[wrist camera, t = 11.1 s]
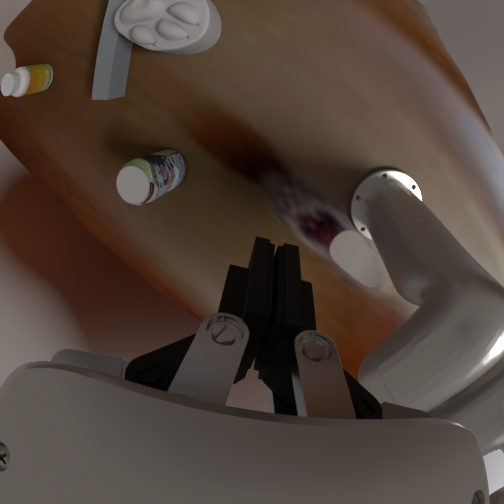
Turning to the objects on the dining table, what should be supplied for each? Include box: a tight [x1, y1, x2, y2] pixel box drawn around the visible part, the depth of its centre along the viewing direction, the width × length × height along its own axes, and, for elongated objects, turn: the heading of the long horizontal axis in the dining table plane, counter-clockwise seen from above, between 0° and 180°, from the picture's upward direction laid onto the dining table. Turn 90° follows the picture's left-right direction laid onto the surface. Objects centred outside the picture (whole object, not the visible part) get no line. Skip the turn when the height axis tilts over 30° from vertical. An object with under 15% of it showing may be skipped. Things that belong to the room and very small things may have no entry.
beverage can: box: [117, 149, 188, 205], centre depth 37 cm, size 6×7×12 cm
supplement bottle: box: [1, 64, 53, 97], centre depth 29 cm, size 5×5×10 cm
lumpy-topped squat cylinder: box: [114, 0, 221, 55], centre depth 26 cm, size 10×13×9 cm
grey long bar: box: [92, 0, 133, 100], centre depth 27 cm, size 3×24×5 cm, turn 168°
